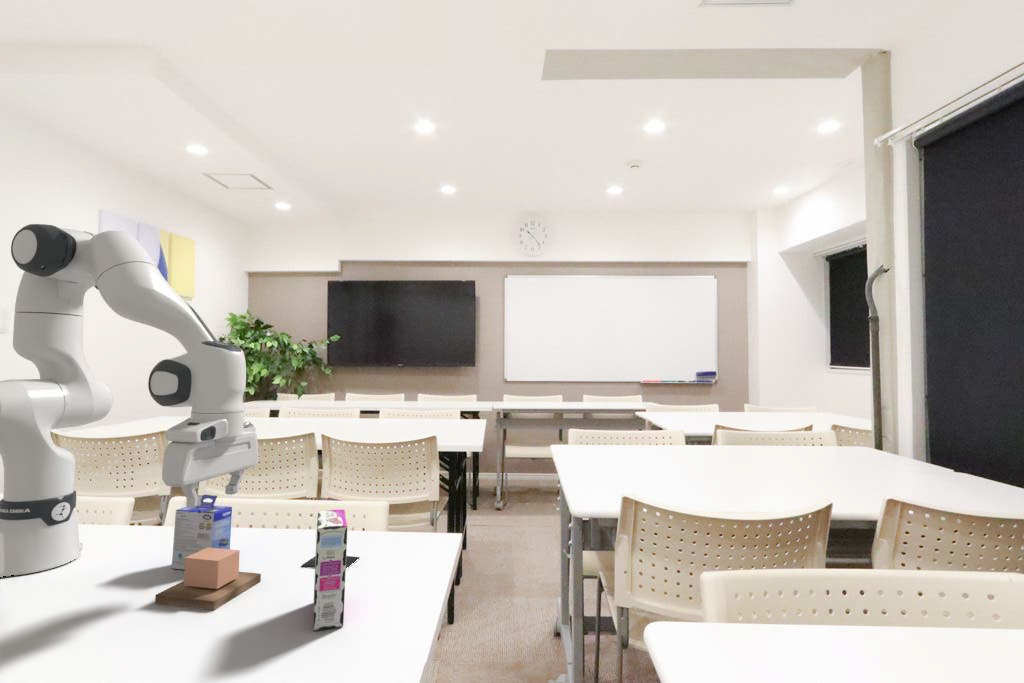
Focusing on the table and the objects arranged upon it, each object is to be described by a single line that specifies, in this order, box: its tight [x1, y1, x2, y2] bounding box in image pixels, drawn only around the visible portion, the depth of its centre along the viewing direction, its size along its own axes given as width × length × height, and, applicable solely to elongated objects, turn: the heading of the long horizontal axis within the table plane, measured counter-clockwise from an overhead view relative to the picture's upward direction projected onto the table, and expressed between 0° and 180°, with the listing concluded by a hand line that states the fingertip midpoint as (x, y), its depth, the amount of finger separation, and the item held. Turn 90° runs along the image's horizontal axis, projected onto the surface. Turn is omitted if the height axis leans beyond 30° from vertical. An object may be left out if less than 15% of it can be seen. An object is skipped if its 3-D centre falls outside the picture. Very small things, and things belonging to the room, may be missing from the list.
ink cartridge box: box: [171, 494, 233, 571], centre depth 107 cm, size 10×6×14 cm, turn 78°
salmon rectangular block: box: [183, 548, 240, 589], centre depth 95 cm, size 5×7×5 cm
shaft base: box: [154, 571, 262, 611], centre depth 95 cm, size 12×12×6 cm
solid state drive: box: [301, 555, 361, 568], centre depth 109 cm, size 7×10×1 cm
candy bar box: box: [312, 509, 348, 632], centre depth 87 cm, size 11×5×16 cm, turn 21°
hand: (213, 499), depth 95 cm, fingers open, 8 cm apart
